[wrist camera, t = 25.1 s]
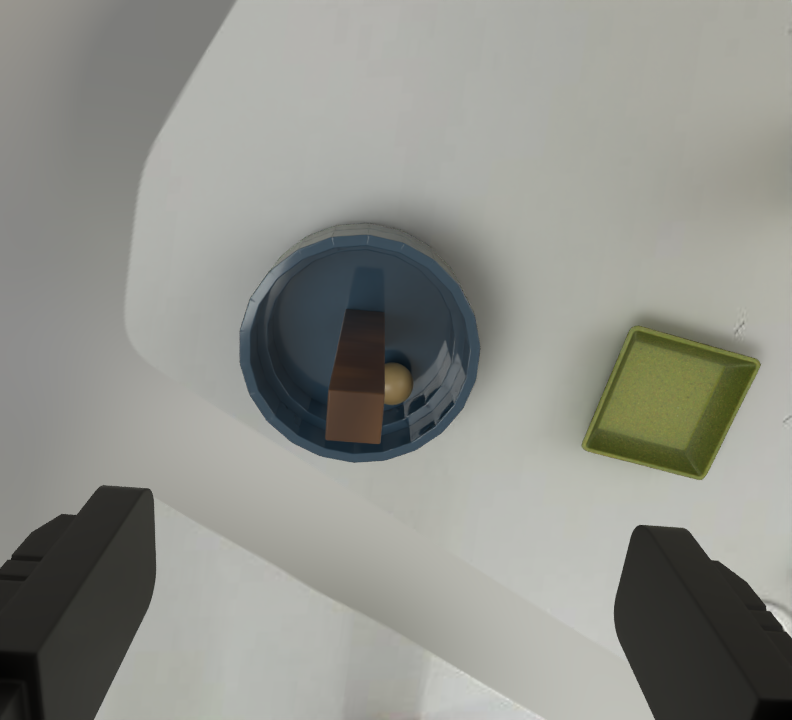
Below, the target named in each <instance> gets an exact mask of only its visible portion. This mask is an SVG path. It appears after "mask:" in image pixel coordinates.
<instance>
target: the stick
mask: <svg viewBox="0 0 792 720" xmlns="http://www.w3.org/2000/svg"><path fill="white" fill-rule="evenodd" d="M384 400H385V313H384V312H375V311H364V310H352V309H346V310H345V313H344V318H343V323H342V328H341V332H340V337H339V342H338V347H337V351H336V356H335V361H334V366H333V370H332V375H331V380H330V385H329V389H328V402H327V418H326V433H325V439H326V440H331V441H344V442H357V443H370V444H380V442H381V431H382V421H383V410H384Z"/></svg>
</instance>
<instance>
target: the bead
mask: <svg viewBox="0 0 792 720" xmlns="http://www.w3.org/2000/svg"><path fill="white" fill-rule="evenodd" d="M412 390H413V377H412V375H411V373H410V371H409V370H408V369H407V368H406V367H405V366H403V365H401V364H399V363H393V362H391V363H386V364H385V400H384V403H385V404H388V405H397V404H400V403H402V402H404V401H405V400H406V399H407V398H408V397H409V396H410V394H411V393H412Z"/></svg>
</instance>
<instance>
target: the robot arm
mask: <svg viewBox="0 0 792 720" xmlns="http://www.w3.org/2000/svg"><path fill="white" fill-rule="evenodd" d="M155 578H156V550H155V520H154V499H153V494H152V491H151V490H150V489H148V488H134V487H120V486H106V485H103V486H100V487H99V488H98V489H97V490H96V491H95V493H94V494H93V495H92V496H91V498H90V499H89V500H88V501H87V503H86V504H85V505H84V506H83V508H82V509H81V510H80V512H79V513H78V514H77V515H68V514H61V515H59V516H58V517H56V518H54V519H53V520H51V521H49V522H48V523H46V524H45V525H43V526H41V527H40V528H38V529H36V530H35V531H33V532H31V534H30V535H29V536H28V537H27V538H26V539H25V541H24V542H23V543H22V544H21V545H20V546H19V547H18V548H17V550H16V551H15V552H14V553H13V554H12V558H11V560H7V561H6V562H5V563H4V565H3V566H2V567H1V568H0V720H94V718H95V716H96V714H97V712H98V710H99V708H100V706H101V704H102V702H103V700H104V698H105V696H106V694H107V692H108V689H109V687H110V685H111V683H112V681H113V679H114V677H115V675H116V673H117V671H118V669H119V667H120V665H121V663H122V661H123V659H124V657H125V655H126V653H127V651H128V649H129V646H130V644H131V642H132V640H133V638H134V636H135V634H136V632H137V630H138V628H139V626H140V624H141V622H142V620H143V618H144V616H145V614H146V612H147V609H148V607H149V605H150V602H151V598H152V595H153V590H154V585H155ZM614 622H615V629H616V633H617V637H618V639H619V642H620V644H621V646H622V648H623V651H624V653H625V655H626V657H627V659H628V661H629V664H630V666H631V668H632V670H633V672H634V674H635V677H636V679H637V681H638V683H639V685H640V688H641V690H642V692H643V694H644V696H645V698H646V701H647V703H648V705H649V707H650V709H651V711H652V714H653V716H654V718H655V720H792V638H791V637H790V636H789V634H788V633H787V632H783V630H782V626H781V624H780V623H779V622H778V621H777V619H776V618H775V617H774V616H773V614H772V613H771V612H770V611H766V606H765V604H764V603H763V602H762V601H761V599H760V598H759V597H758V596H757V594H756V593H755V592H754V591H753V589H752V588H751V587H750V586H749V584H748V583H747V582H746V581H744V580H743V579H742V578H740V577H739V576H738V575H736V574H735V573H734V572H732V571H731V570H730V569H728V568H727V567H726V566H724V565H723V564H722V563H720V562H719V561H714V560H710V558H709V557H708V556H707V554H706V553H705V552H704V550H703V549H702V548H701V546H700V545H699V544H698V542H697V541H696V540H695V538H694V537H693V536H692V534H691V533H690V532H689V531H688V530H687V529H685V528H677V527H663V526H649V525H639V526H637V527H636V528H635V529H634V531H633V533H632V535H631V538H630V542H629V546H628V550H627V554H626V558H625V562H624V566H623V570H622V574H621V578H620V582H619V586H618V590H617V594H616V598H615V605H614Z"/></svg>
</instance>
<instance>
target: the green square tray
mask: <svg viewBox="0 0 792 720" xmlns="http://www.w3.org/2000/svg"><path fill="white" fill-rule="evenodd" d="M760 366H761V364H760V362H759V361H758V360H757V359H755V358H752V357H748V356H744V355H741V354H737V353H733V352H730V351H726V350H723V349H719V348H716V347H712V346H709V345H705V344H702V343H698V342H695V341H691V340H687V339H684V338H680V337H677V336H674V335H670V334H666V333H663V332H659V331H656V330H652V329H649V328H645V327H642V326H634V327H632V328H631V329H630V330H629V332H628V335H627V337H626V339H625V342H624V344H623V347H622V349H621V351H620V354H619V356H618V359H617V361H616V363H615V366H614V368H613V371H612V373H611V375H610V378H609V380H608V382H607V385H606V387H605V390H604V392H603V394H602V397H601V399H600V402H599V404H598V406H597V409H596V411H595V414H594V416H593V418H592V421H591V423H590V426H589V428H588V430H587V433H586V435H585V437H584V440H583V442H582V448H583V449H584V450H586V451H588V452H592V453H595V454H600V455H603V456H608V457H611V458H616V459H620V460H624V461H628V462H632V463H635V464H639V465H643V466H647V467H650V468H654V469H659V470H662V471H666V472H670V473H674V474H677V475H681V476H685V477H689V478H693V479H697V480H702V479H703V478H704V477H705V476H706V475H707V473H708V471H709V469H710V467H711V465H712V463H713V461H714V459H715V457H716V455H717V453H718V451H719V449H720V447H721V444H722V442H723V441H724V439H725V436H726V434H727V432H728V430H729V428H730V426H731V424H732V422H733V420H734V418H735V416H736V414H737V412H738V410H739V408H740V406H741V404H742V402H743V400H744V398H745V396H746V394H747V392H748V390H749V389H750V387H751V384H752V382H753V381H754V379H755V376H756V375H757V372H758V370H759V368H760Z"/></svg>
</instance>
